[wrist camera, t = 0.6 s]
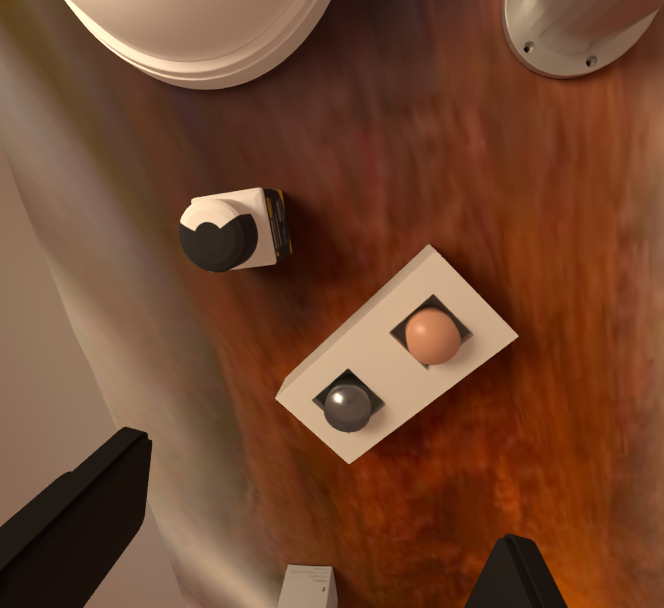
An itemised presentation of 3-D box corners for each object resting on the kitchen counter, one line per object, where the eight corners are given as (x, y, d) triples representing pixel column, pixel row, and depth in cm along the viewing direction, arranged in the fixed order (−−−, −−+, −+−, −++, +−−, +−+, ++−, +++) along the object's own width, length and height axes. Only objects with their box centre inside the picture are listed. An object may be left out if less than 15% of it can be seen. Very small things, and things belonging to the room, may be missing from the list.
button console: (428, 244, 37) (436, 250, 33) (501, 319, 39) (518, 336, 34) (286, 377, 45) (275, 398, 40) (352, 436, 46) (349, 464, 41)
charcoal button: (349, 365, 40) (346, 383, 36) (380, 394, 40) (380, 414, 36) (320, 391, 41) (314, 410, 37) (350, 418, 42) (347, 440, 38)
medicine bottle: (293, 253, 40) (259, 275, 28) (235, 260, 41) (180, 284, 29) (282, 189, 38) (240, 184, 26) (221, 198, 39) (157, 198, 28)
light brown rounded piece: (429, 295, 36) (435, 306, 32) (462, 327, 37) (471, 342, 33) (394, 326, 37) (396, 340, 34) (426, 357, 38) (431, 374, 34)
